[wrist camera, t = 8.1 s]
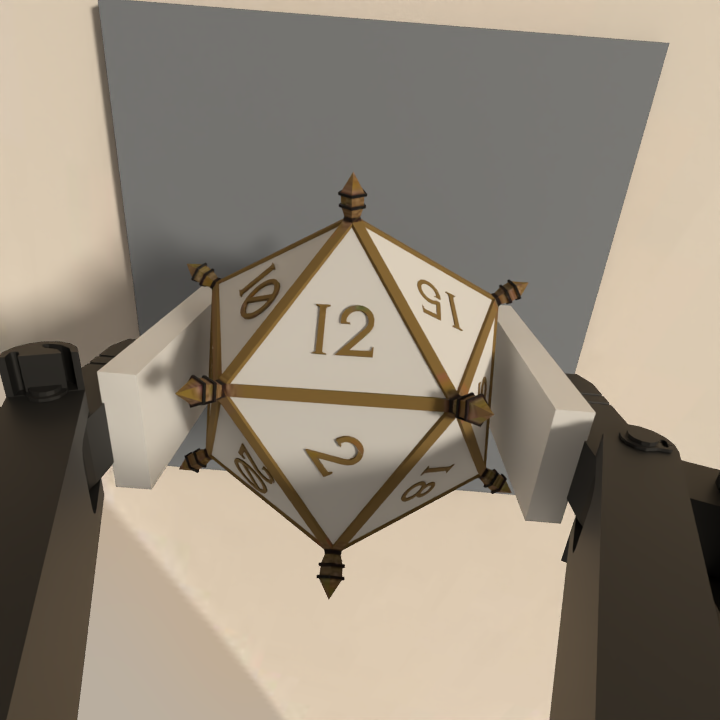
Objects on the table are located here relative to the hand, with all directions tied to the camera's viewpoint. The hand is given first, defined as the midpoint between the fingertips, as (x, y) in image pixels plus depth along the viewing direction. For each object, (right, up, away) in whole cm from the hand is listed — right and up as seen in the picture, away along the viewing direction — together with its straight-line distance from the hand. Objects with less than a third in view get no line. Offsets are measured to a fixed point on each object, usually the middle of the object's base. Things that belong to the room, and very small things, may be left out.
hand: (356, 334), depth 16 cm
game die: (0, 0, 0) cm, 1 cm away
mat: (0, +2, +4) cm, 4 cm away
